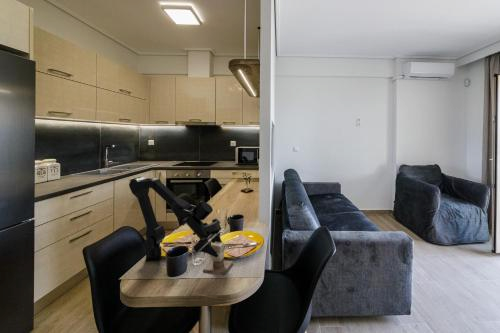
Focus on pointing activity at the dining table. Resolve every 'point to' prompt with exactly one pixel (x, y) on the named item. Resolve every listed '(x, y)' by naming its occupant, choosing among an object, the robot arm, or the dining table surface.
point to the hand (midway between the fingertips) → (220, 252)
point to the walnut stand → (218, 267)
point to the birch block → (218, 251)
